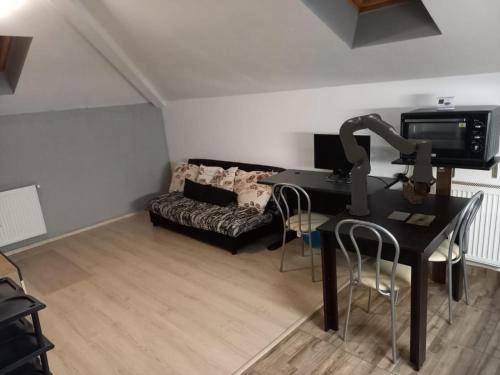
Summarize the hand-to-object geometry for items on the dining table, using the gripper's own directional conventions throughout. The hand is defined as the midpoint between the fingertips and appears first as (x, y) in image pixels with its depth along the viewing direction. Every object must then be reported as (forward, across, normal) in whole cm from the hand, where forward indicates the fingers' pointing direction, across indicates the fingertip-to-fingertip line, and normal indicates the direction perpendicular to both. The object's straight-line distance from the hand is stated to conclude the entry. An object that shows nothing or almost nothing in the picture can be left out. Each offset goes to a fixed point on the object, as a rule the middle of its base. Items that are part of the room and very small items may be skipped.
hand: (421, 192), depth 221 cm
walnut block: (+1, 0, 0) cm, 1 cm away
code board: (+17, 0, 0) cm, 17 cm away
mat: (+17, -13, +1) cm, 21 cm away
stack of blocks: (+17, -15, +37) cm, 44 cm away
